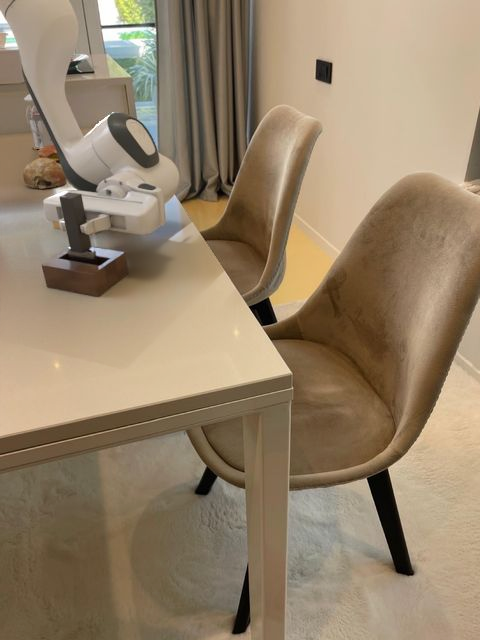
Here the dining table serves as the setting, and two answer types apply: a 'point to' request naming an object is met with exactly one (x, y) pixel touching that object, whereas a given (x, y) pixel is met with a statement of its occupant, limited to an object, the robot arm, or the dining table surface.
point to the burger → (49, 153)
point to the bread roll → (43, 174)
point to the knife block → (86, 272)
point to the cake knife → (76, 229)
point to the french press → (42, 130)
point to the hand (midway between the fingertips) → (73, 228)
